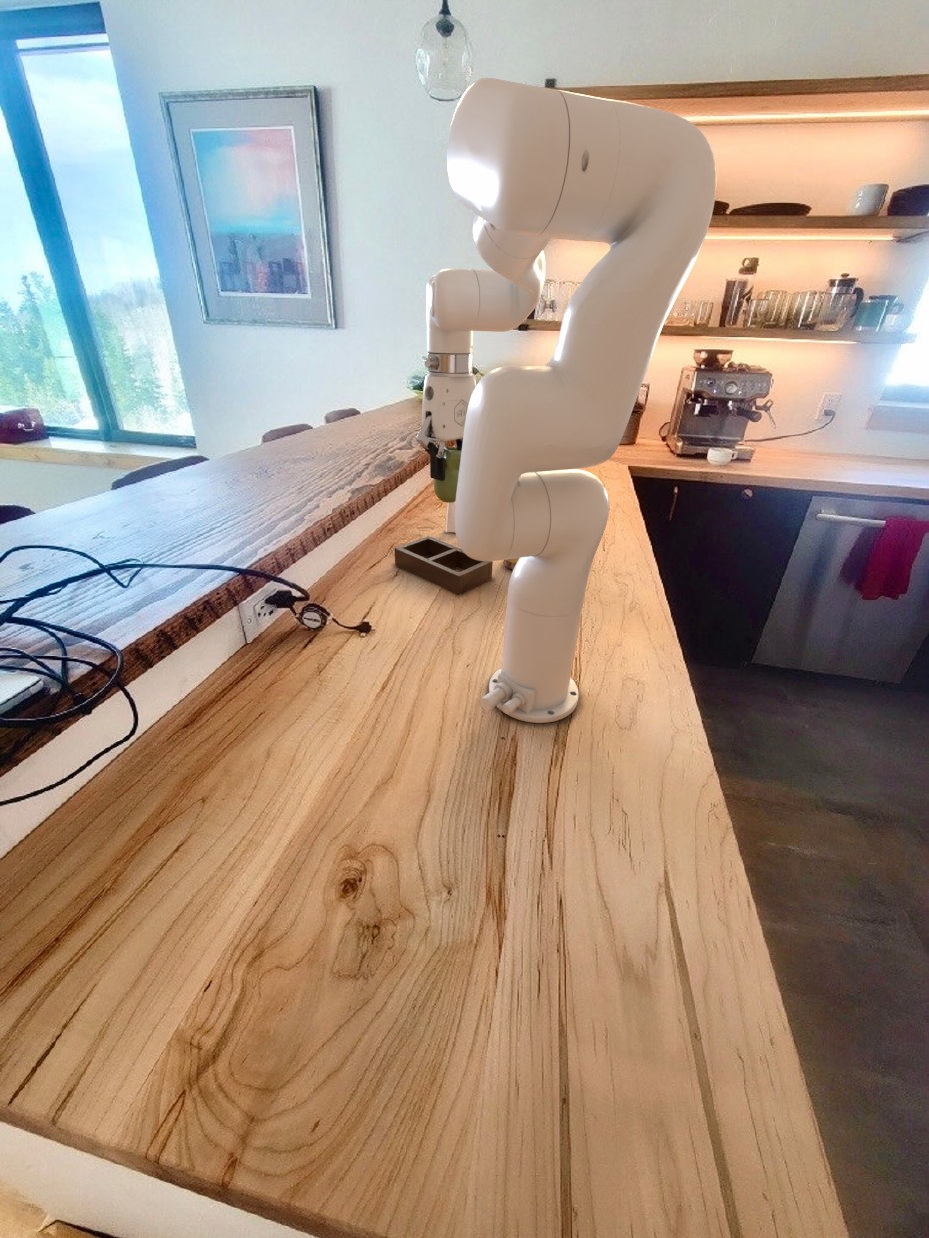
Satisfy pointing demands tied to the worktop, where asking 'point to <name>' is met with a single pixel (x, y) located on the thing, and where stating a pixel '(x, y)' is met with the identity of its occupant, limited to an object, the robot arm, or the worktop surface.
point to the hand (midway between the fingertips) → (449, 475)
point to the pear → (449, 476)
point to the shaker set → (450, 518)
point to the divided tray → (442, 564)
